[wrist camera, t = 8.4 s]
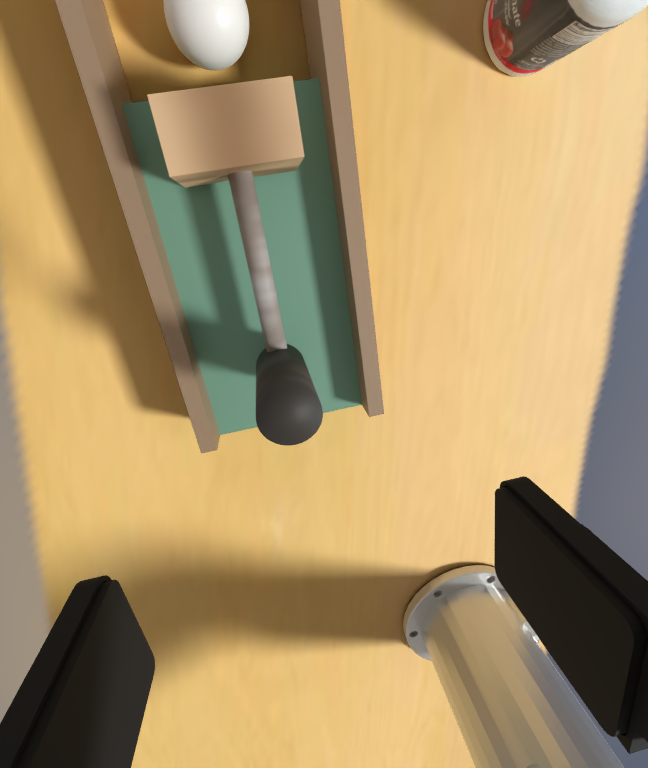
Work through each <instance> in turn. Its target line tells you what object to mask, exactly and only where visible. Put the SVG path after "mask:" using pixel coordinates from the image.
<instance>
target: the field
mask: <svg viewBox="0 0 648 768" xmlns="http://www.w3.org/2000/svg"><path fill="white" fill-rule="evenodd" d="M55 2H56V5H57V8H58V11H59V14H60V17H61V21H62V24H63V27H64V30H65V33H66V36H67V39H68V42H69V45H70V48H71V51H72V55H73V58H74V61H75V64H76V67H77V70H78V73H79V76H80V79H81V82H82V86H83V89H84V92H85V95H86V98H87V101H88V104H89V107H90V110H91V113H92V117H93V120H94V123H95V126H96V129H97V132H98V135H99V138H100V141H101V144H102V147H103V151H104V154H105V157H106V160H107V163H108V166H109V169H110V172H111V175H112V178H113V182H114V185H115V188H116V191H117V194H118V197H119V200H120V203H121V206H122V209H123V213H124V216H125V219H126V222H127V225H128V228H129V231H130V234H131V237H132V240H133V243H134V247H135V250H136V253H137V256H138V259H139V262H140V265H141V268H142V271H143V274H144V278H145V281H146V284H147V287H148V290H149V293H150V296H151V299H152V302H153V305H154V308H155V312H156V315H157V318H158V321H159V324H160V327H161V330H162V333H163V336H164V339H165V343H166V346H167V349H168V352H169V355H170V358H171V361H172V364H173V367H174V370H175V374H176V377H177V380H178V383H179V386H180V389H181V392H182V395H183V398H184V401H185V404H186V408H187V411H188V414H189V417H190V420H191V423H192V426H193V429H194V432H195V435H196V439H197V442H198V445H199V448H200V451H201V453H205V452H210V451H214V450H217V448H218V443H219V437H220V435H222V434H227V433H231V432H236V431H241V430H245V429H250V428H255V427H258V426H257V423H256V362H257V359H258V356H259V355H260V353H261V352H262V351H263V350H264V349H265V348H266V346H265V341H264V337H263V332H262V328H261V323H260V319H259V314H258V310H257V305H256V301H255V296H254V292H253V287H252V283H251V278H250V274H249V269H248V265H247V260H246V255H245V251H244V246H243V242H242V237H241V233H240V228H239V224H238V219H237V215H236V210H235V206H234V201H233V197H232V192H231V188H230V183H229V181H225V182H218V183H212V184H205V185H199V186H192V187H186V188H185V187H184V186H182V185H181V184H179V183H178V182H176V181H175V180H173V179H172V178H170V177H169V173H168V170H167V166H166V162H165V159H164V155H163V151H162V148H161V144H160V140H159V137H158V133H157V129H156V126H155V122H154V118H153V115H152V111H151V107H150V104H149V100H148V101H141V102H133V103H132V100H131V96H130V93H129V89H128V86H127V82H126V79H125V76H124V72H123V69H122V65H121V62H120V58H119V55H118V51H117V48H116V44H115V41H114V37H113V34H112V30H111V27H110V23H109V20H108V16H107V13H106V9H105V6H104V2H103V0H55ZM300 5H301V13H302V20H303V27H304V34H305V42H306V49H307V56H308V64H309V71H310V78H311V79H307V80H300V81H293V84H294V91H295V97H296V104H297V110H298V117H299V124H300V130H301V137H302V143H303V150H304V156H305V157H304V158H303V160H302V162H301V163H300V165H299V167H298V168H297V170H296V171H290V172H283V173H277V174H270V175H264V176H257V177H253V179H254V184H255V189H256V194H257V199H258V204H259V209H260V214H261V219H262V224H263V229H264V234H265V239H266V244H267V249H268V254H269V259H270V264H271V269H272V274H273V279H274V284H275V289H276V294H277V299H278V304H279V309H280V314H281V319H282V324H283V329H284V334H285V339H286V344H289V345H292V346H293V347H295V348H296V349H298V350H299V351H300V353H301V354H302V356H303V358H304V361H305V363H306V366H307V368H308V371H309V374H310V376H311V379H312V382H313V384H314V387H315V389H316V392H317V395H318V397H319V400H320V402H321V405H322V410H323V413H325V412H329V411H334V410H339V409H343V408H348V407H353V406H358V405H362V406H363V407H364V409H365V411H366V412H367V414H368V415H369V417H371V416H376V415H380V414H384V409H383V400H382V391H381V381H380V372H379V363H378V353H377V344H376V335H375V325H374V316H373V307H372V297H371V288H370V279H369V269H368V260H367V251H366V241H365V232H364V223H363V214H362V204H361V195H360V186H359V176H358V167H357V158H356V148H355V139H354V130H353V120H352V111H351V102H350V92H349V83H348V74H347V64H346V55H345V46H344V37H343V27H342V18H341V9H340V0H300Z"/></svg>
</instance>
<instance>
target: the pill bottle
mask: <svg viewBox="0 0 648 768" xmlns="http://www.w3.org/2000/svg"><path fill="white" fill-rule="evenodd" d="M647 5H648V0H488V1H487V4H486V8H485V12H484V19H483V34H484V42H485V46H486V49H487V51H488V54H489V56H490V58H491V60H492V62H493V63H494V64H495V66H496V67H497V68H498V69H499V70H501V71H502V72H505V73H507V74H509V75H510V76H515V77H522V76H528V75H531V74H534V73H536V72H538V71H540V70H542V69H544V68H545V67H547V66H549V65H551V64H553V63H554V62H556V61H558V60H559V59H561V58H563V57H565V56H566V55H568V54H570V53H571V52H573V51H575V50H577V49H578V48H580V47H581V46H583V45H585V44H587V43H589V42H590V41H592V40H594V39H596V38H597V37H599V36H601V35H602V34H604V33H606V32H608V31H609V30H611V29H613V28H615V27H616V26H618V25H620V24H622V23H624V22H625V21H627V20H629V19H631V18H632V17H633V16H635V15H636V14H638V13H639V12H640V11H642V10H643V9H644V8H645V7H646V6H647Z"/></svg>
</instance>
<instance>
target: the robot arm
mask: <svg viewBox="0 0 648 768" xmlns="http://www.w3.org/2000/svg"><path fill="white" fill-rule="evenodd" d="M403 630H404V633H405V636H406V639H407V642H408V644H409V646H410V648H411V649H412V650H413V651H414V652H415V653H416V654H418V655H419V656H421V657H422V658H425V659H428V660H431V661H432V663H433V665H434V668H435V670H436V672H437V675H438V677H439V680H440V682H441V685H442V687H443V690H444V692H445V694H446V697H447V699H448V702H449V704H450V707H451V709H452V711H453V714H454V716H455V719H456V721H457V724H458V726H459V728H460V731H461V733H462V736H463V738H464V741H465V743H466V745H467V748H468V750H469V753H470V755H471V758H472V760H473V762H474V765H475V767H476V768H624V767H623V765H622V764H621V762H620V761H619V760H618V758H617V757H616V755H615V754H614V753H613V751H612V749H611V748H610V747H609V745H608V744H607V742H606V741H605V739H604V738H603V737H602V735H601V734H600V732H599V731H598V729H597V728H596V726H595V725H594V724H593V722H592V720H591V719H590V718H589V716H588V715H587V713H586V712H585V710H584V709H583V707H582V706H581V705H580V703H579V702H578V700H577V699H576V697H575V696H574V694H573V693H572V692H571V690H570V689H569V687H568V686H567V684H566V683H565V681H564V680H563V679H562V677H561V676H560V674H559V673H558V671H557V670H556V668H555V667H554V666H553V664H552V663H551V661H550V660H549V658H548V657H547V655H546V654H545V652H544V651H543V649H542V648H541V647H540V645H539V644H538V642H539V639H540V640H541V642H542V643H543V645H544V646H545V647H546V649H547V650H548V652H549V653H550V655H551V656H552V657H553V659H554V660H555V661H556V663H557V664H558V666H559V667H560V669H561V670H562V671H563V673H564V674H565V676H566V677H567V679H568V680H569V682H570V683H571V684H572V686H573V687H574V689H575V690H576V691H577V693H578V694H579V696H580V697H581V699H582V700H583V702H584V703H585V704H586V706H587V707H588V709H589V710H590V711H591V713H592V714H593V716H594V717H595V719H596V720H597V721H598V723H599V724H600V726H601V727H602V728H603V730H604V731H605V732H606V733H607V734H609V735H610V736H617V738H618V739H619V740H620V742H621V743H622V745H623V746H624V747H625V749H626V750H627V752H628V753H629V754H631V753H634V752H637V751H640V750H644V749H647V748H648V581H647V580H646V579H645V578H643V577H642V576H641V575H640V574H639V573H638V572H636V571H635V570H634V569H633V568H632V567H631V566H630V565H629V564H627V563H626V562H625V561H624V560H623V559H622V558H621V557H620V556H618V555H617V554H616V553H615V552H614V551H613V550H611V549H610V548H609V547H608V546H607V545H606V544H605V543H604V542H602V541H601V540H600V539H599V538H598V537H597V536H595V535H594V534H593V533H592V532H591V531H590V530H589V529H588V528H586V527H585V526H583V525H582V524H580V523H579V522H578V521H577V520H575V519H574V518H573V517H572V516H571V515H570V514H569V513H567V512H566V511H565V510H564V509H563V508H562V507H561V506H560V505H558V504H557V503H556V502H555V501H554V500H553V499H552V498H550V497H549V496H548V495H547V494H546V493H545V492H544V491H543V490H541V489H540V488H539V487H538V486H537V485H536V484H535V483H533V482H532V481H531V480H530V479H529V478H527V477H524V476H523V477H519V478H515V479H511V480H507V481H503V482H502V483H501V484H500V488H499V489H496V491H495V567H491V566H483V565H473V566H464V567H461V568H457V569H453V570H451V571H448V572H446V573H443V574H441V575H440V576H438V577H436V578H435V579H433V580H431V581H430V582H429V583H428V584H426V585H425V586H424V587H423V588H422V589H421V590H420V591H419V592H418V593H417V594H416V595H415V596H414V598H413V599H412V600H411V602H410V603H409V605H408V607H407V610H406V612H405V615H404V620H403ZM154 670H155V660H154V656H153V653H152V651H151V649H150V647H149V645H148V643H147V640H146V638H145V636H144V634H143V632H142V630H141V628H140V626H139V624H138V622H137V619H136V617H135V615H134V613H133V611H132V609H131V607H130V605H129V603H128V601H127V598H126V596H125V594H124V592H123V590H122V588H121V586H120V584H119V582H118V581H117V580H113V581H112V580H111V579H110V577H108V576H101V577H97V578H92V579H88V580H84V581H80V582H79V583H77V584H76V586H75V587H74V589H73V590H72V592H71V594H70V596H69V598H68V600H67V602H66V603H65V605H64V607H63V609H62V611H61V613H60V615H59V616H58V618H57V620H56V622H55V624H54V626H53V627H52V629H51V631H50V633H49V635H48V637H47V639H46V640H45V642H44V644H43V646H42V648H41V650H40V652H39V654H38V655H37V657H36V659H35V661H34V663H33V665H32V667H31V668H30V670H29V672H28V674H27V675H26V677H25V679H24V681H23V683H22V685H21V687H20V688H19V690H18V692H17V694H16V696H15V698H14V700H13V701H12V703H11V705H10V707H9V709H8V711H7V712H6V714H5V716H4V718H3V720H2V722H1V723H0V768H131V765H132V761H133V757H134V753H135V748H136V744H137V740H138V736H139V732H140V728H141V724H142V720H143V716H144V712H145V708H146V704H147V700H148V696H149V692H150V688H151V684H152V680H153V676H154Z"/></svg>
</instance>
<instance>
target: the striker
mask: <svg viewBox="0 0 648 768" xmlns="http://www.w3.org/2000/svg"><path fill="white" fill-rule="evenodd" d="M147 96H148V100H149V104H150V107H151V111H152V115H153V118H154V122H155V126H156V129H157V133H158V137H159V140H160V144H161V148H162V151H163V155H164V159H165V162H166V166H167V170H168V173H169V177H170V178H172V179H173V180H175V181H176V182H178V183H179V184H181V185H182V186H184V187H185V188H186V187H192V186H199V185H205V184H212V183H218V182H225V181H229V183H230V188H231V192H232V197H233V201H234V206H235V210H236V215H237V219H238V224H239V228H240V233H241V237H242V242H243V246H244V251H245V255H246V260H247V265H248V269H249V274H250V278H251V283H252V287H253V292H254V296H255V301H256V305H257V310H258V314H259V319H260V323H261V328H262V332H263V337H264V341H265V346H266V348H265V349H264V350H263V351H262V352H261V353H260V355H259V356H258V359H257V362H256V423H257V426H258V428H259V430H260V432H261V433H262V434H263V435H264V436H265V437H266V438H267V439H268V440H270V441H272V442H274V443H277V444H280V445H296V444H299V443H302V442H304V441H306V440H308V439H309V438H311V437H312V436H313V435H314V434H315V433H316V432H317V430H318V429H319V427H320V425H321V422H322V417H323V410H322V405H321V402H320V400H319V397H318V395H317V392H316V389H315V387H314V384H313V382H312V379H311V376H310V374H309V371H308V368H307V366H306V363H305V361H304V358H303V356H302V354H301V353H300V351H299V350H298V349H296V348H295V347H293V346H292V345H289V344H286V339H285V334H284V329H283V324H282V319H281V314H280V309H279V304H278V299H277V294H276V289H275V284H274V279H273V274H272V269H271V264H270V259H269V254H268V249H267V244H266V239H265V234H264V229H263V224H262V219H261V214H260V209H259V204H258V199H257V194H256V189H255V184H254V179H253V177H257V176H264V175H270V174H277V173H283V172H290V171H296V170H297V168H298V167H299V165H300V163H301V162H302V160H303V158H304V157H305V156H304V150H303V143H302V137H301V130H300V124H299V117H298V110H297V104H296V97H295V91H294V84H293V77H292V76H286V77H278V78H270V79H263V80H255V81H247V82H240V83H232V84H224V85H217V86H209V87H201V88H194V89H186V90H178V91H171V92H163V93H155V94H148V95H147Z"/></svg>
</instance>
